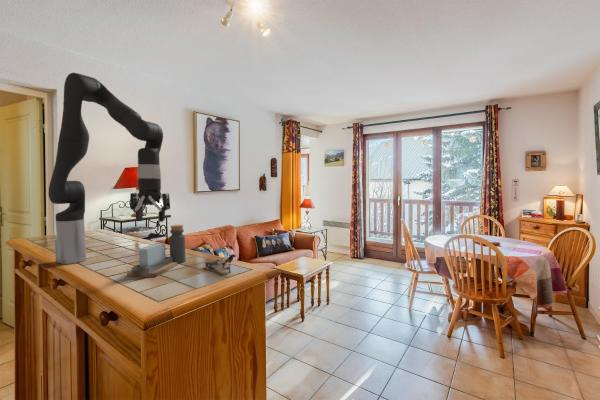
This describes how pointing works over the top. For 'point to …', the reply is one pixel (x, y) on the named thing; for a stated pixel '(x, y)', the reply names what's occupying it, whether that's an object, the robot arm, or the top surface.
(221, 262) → the figurine
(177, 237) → the bottle
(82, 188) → the robot arm
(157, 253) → the door
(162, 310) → the top surface
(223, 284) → the top surface
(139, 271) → the grey piece
